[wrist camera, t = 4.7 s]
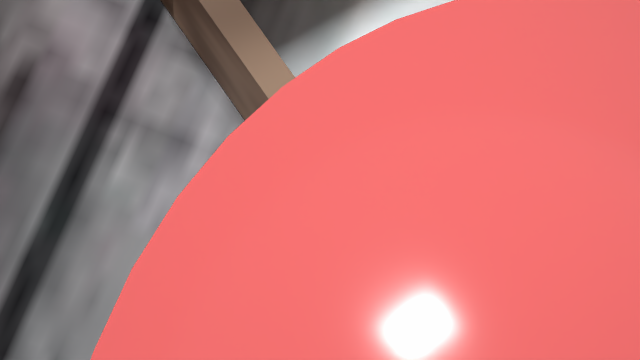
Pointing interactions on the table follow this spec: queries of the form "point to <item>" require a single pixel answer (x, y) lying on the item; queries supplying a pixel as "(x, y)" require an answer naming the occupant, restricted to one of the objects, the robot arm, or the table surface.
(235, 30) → the drawer
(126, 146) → the table surface
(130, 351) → the pink cylinder
